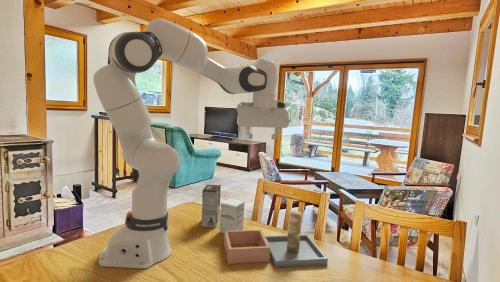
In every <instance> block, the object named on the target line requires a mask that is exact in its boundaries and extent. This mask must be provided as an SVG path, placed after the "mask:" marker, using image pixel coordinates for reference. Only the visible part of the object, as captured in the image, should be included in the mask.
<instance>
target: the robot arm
mask: <svg viewBox="0 0 500 282" xmlns="http://www.w3.org/2000/svg"><path fill="white" fill-rule="evenodd" d="M208 49H209V48H208V45H207V42H206V41H205V40H204V39H203V38H202V37H201V36H199V35H198V34H197V33H195V32H193V30H190V29H188V28H186V27H184V26H181V25H180V24H178V23H176V22H173V21H171V20H168V19H164V18H161V17H157V18H154V19H152V20H150V22H149V23H148V24H147V25H146V27H145V30H144V31H127V32H126V31H125V32H122V33H119V34H117V35H116V36H115V37H114V38H112V40H111V41H110V43H109V46H108V52H107V53H108V55H107V56H108V57H107V65H103V66H102V67H100V68H99V69H98V70H96V71H95V72H94V74H93V76H92V77H93V84H94V88H95V91H96V94H97V96H98V99H99V102H100V104H101V106H102V108H103V110H104V111H105V113H106V115H107V117H108V119H109V121H110V123H111V125H112V127H113V129H114V131H115V132H116V135H117V137H118V141H119V145H120V147H121V150H122V152H121V154H122V158H123V160H124V161H125V163H126V164H127V165H128V166H129V167H130V168H132V169H133V170H136V171H137V172H138V180H137V184H136V187H134V189H133V190H132V193H131V210H129V211H127V213H126V215H125V220H124V225H123V226H122V227H121V228H119V229H118V230H115V232H114V233H113V234H112V235H111V237H109V240H108V242H107V245H106V247H104V248H103V250H102V251H101V252H100V254H99V257H98V261H97V262H98V265H99V266H100V267H106V268H107V267H109V268H110V267H111V268H126V269H127V268H128V269H129V268H130V269H149V268H150V267H151V266H153V265H155V264H157V263H159V262H162V261H164V260H166V259H167V258H168V257H169V256H170V255H171V253H172V249H171V245H170V241H169V234H168V228H169V212H168V210H167V209H168V191H169V186H170V183H171V179H172V177H173V176H174V175H175V174H176V173H178V170H179V168H180V165H181V156H180V153H179V152H178V150H176V149H175V148H173V146H171V145H169V144H168V143H164V142H161V141H157V140H156V139H155V137H154V136H153V132H152V127H151V123H152V116H151V114H150V112H149V110H148V108H147V105H146V104H145V102H144V99H143V97H142V95H141V93H140V90H139V89H138V87H137V86H138V85H137V83H136V75H137V74H140V73H145V72H147V71H149V70H150V69H151V68H152V67H153V66H154V65H155V63H156V62H157V61H158V59H160V57H161V58H163V59H166V60H168V61H170V62H172V63H175V64H176V65H178V66H181V67H183V68H186V69H188V70H191V71H194V72H197V73H199V74H200V75H203V76H204V77H206V78H208V79H209V80H212V82H213V81H214V82H215V83H217V85H219V86H220V88H221V89H222V90H223V92H225V93H227V94H230V95H236V94H251V93H252V102H245V101H241V102H240V103H238V104H237V106H236V112H237V116H236V117H237V118H236V124H237V126H238V127H245V130H246V133H247V139H250V140H251V139H253V137H254V136H253V133H251V131H250V130H251V127H252V128H274V133H273V134H272V133H271V140H276V139H277V135H278V133H279V132H280V129H281V128H282V129H287V128H288V127H289V125H290V115H289V114H290V113H289V111H288V110H287V108H288V103H286V102H284V101H282V100H279V99H277V94H276V87H277V83H278V81H277V80H278V70H277V65H276V63H275V62H274V61H273V60H271V59H268V58H258V59H257V60H255V61H254V62H251V64H247V65H244V66H239V67H225V66H223V65H221V64H220V63H218V62H216V61H214V60H213V59H211V58H210V57H209V56H208V53H209V50H208Z"/></svg>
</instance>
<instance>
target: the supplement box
mask: <svg viewBox="0 0 500 282" xmlns="http://www.w3.org/2000/svg"><path fill="white" fill-rule="evenodd" d="M244 217H245V201H243V200H238V199H234V198H228V199H226V200H224V201H221V202H220V219H219V233H221V234H224V233H225V231H230V230H244Z"/></svg>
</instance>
